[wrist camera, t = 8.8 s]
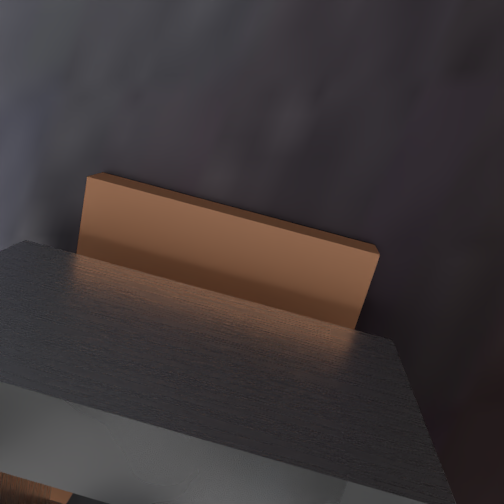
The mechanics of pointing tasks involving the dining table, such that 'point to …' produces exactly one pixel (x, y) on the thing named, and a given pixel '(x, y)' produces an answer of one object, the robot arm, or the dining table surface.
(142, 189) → the keeper
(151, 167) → the dining table surface
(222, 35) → the dining table surface
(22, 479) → the white square sleeve
